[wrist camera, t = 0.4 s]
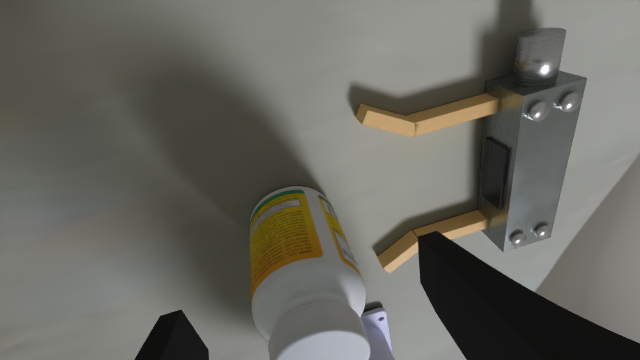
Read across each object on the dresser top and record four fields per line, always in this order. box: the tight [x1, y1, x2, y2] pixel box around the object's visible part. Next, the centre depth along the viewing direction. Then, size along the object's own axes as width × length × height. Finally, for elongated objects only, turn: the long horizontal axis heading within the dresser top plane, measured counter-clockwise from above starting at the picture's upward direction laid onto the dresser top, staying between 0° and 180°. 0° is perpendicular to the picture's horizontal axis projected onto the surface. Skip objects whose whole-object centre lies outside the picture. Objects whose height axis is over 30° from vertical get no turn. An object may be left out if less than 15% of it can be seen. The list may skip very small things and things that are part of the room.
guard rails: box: [356, 93, 499, 273], centre depth 21 cm, size 12×8×1 cm, turn 12°
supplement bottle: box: [249, 186, 370, 360], centre depth 17 cm, size 5×5×10 cm
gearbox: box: [477, 28, 587, 252], centre depth 20 cm, size 13×4×3 cm, turn 12°
